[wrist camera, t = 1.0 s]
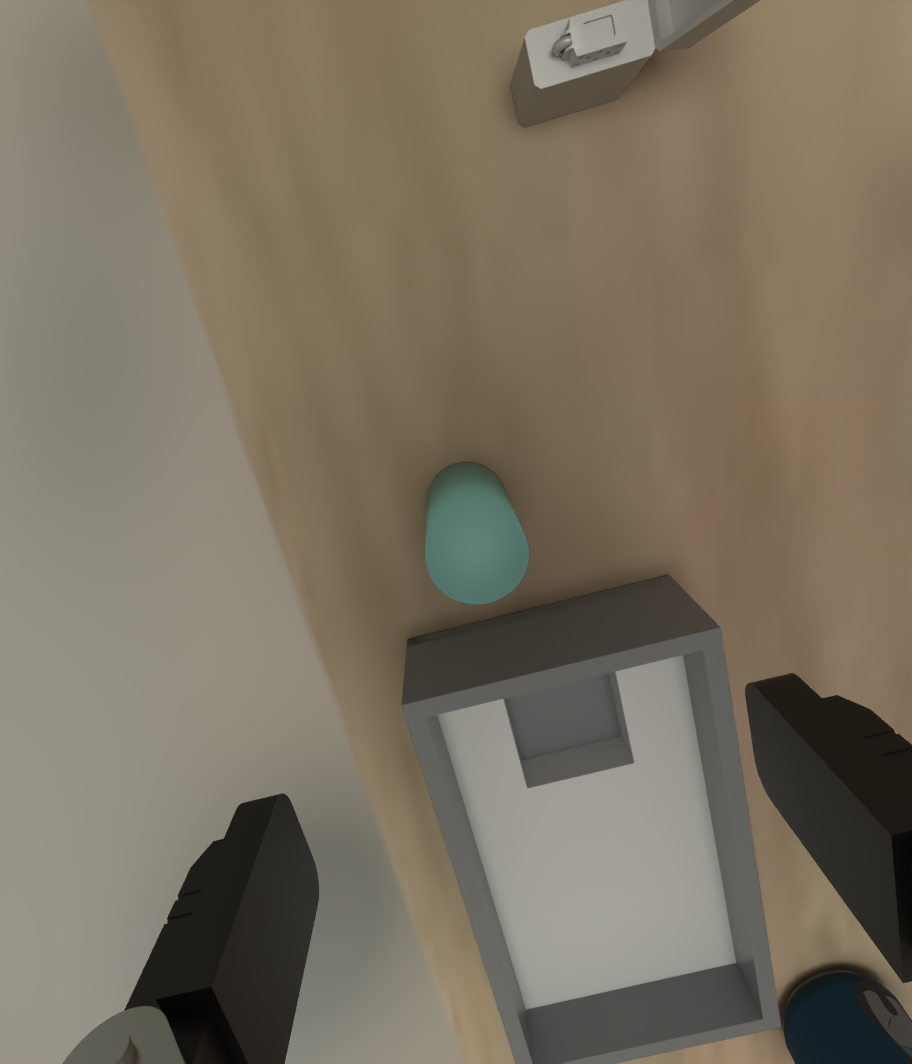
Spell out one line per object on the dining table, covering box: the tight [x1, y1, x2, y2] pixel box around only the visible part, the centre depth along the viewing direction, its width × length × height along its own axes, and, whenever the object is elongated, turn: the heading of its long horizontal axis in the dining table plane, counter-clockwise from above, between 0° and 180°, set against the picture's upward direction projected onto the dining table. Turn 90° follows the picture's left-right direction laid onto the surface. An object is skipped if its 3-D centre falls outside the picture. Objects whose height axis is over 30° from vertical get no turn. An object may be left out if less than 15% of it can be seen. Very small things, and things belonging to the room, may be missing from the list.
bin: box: [402, 575, 781, 1064], centre depth 32 cm, size 13×22×6 cm, turn 14°
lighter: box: [511, 0, 760, 127], centre depth 22 cm, size 7×2×8 cm, turn 105°
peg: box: [425, 462, 529, 605], centre depth 27 cm, size 4×4×8 cm
